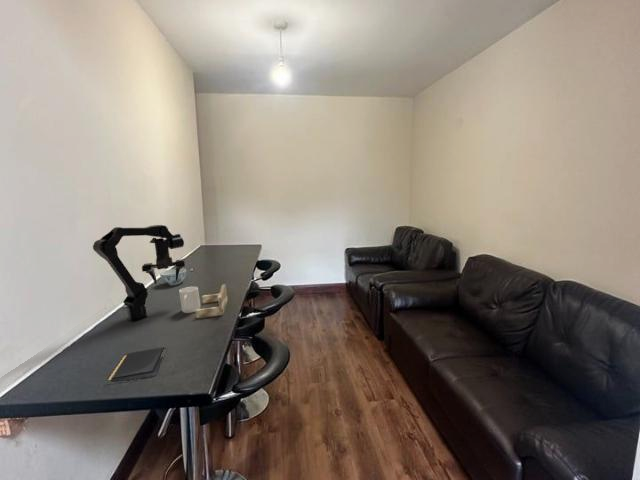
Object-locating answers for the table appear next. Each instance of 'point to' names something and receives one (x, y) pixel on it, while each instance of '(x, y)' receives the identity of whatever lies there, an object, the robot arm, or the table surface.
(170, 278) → the chinaware
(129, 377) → the dark grey notebook
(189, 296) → the cup
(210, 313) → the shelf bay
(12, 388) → the table surface
